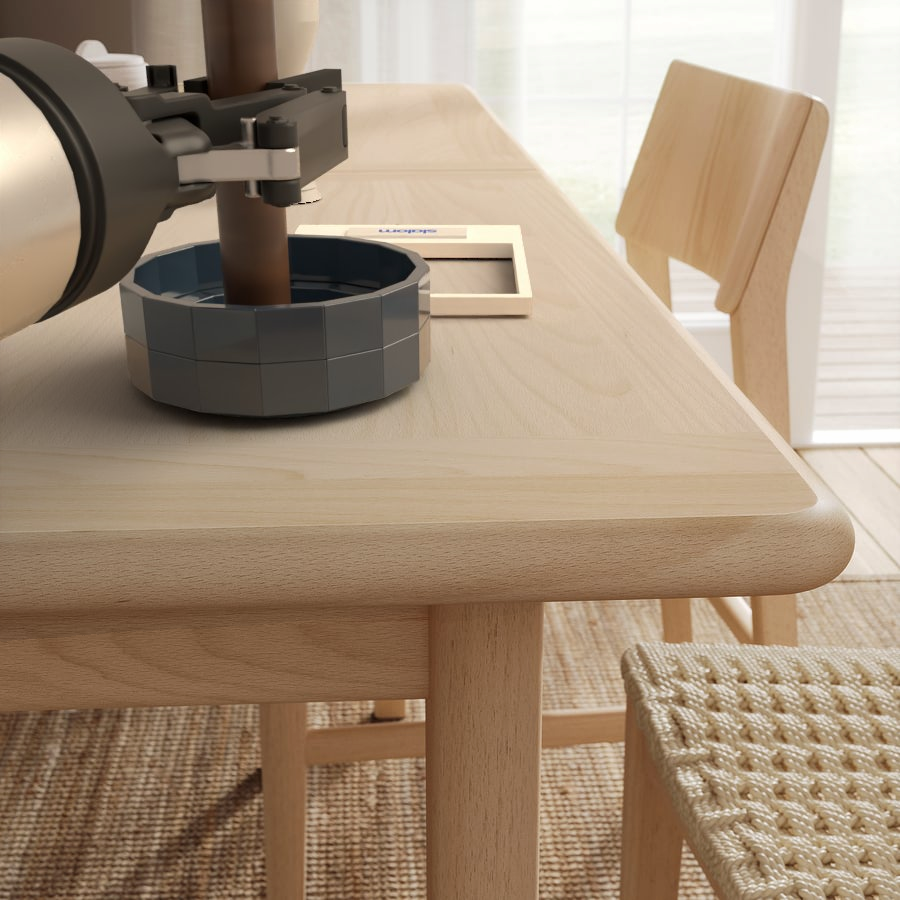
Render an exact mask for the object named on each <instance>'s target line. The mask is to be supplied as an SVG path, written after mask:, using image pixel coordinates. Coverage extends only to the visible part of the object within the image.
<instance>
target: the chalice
mask: <svg viewBox="0 0 900 900" xmlns="http://www.w3.org/2000/svg"><path fill="white" fill-rule="evenodd" d="M319 4H320V3H319V0H274V7H275V25H276V42H277V60H278V78H279V79H284V78H288V77H292V76H296V75H300V74H304V70H305V68H306V65H307V63H308V60H309V57H310V55H311V53H312V52H311V51H312V49H313V48H314V47H313V46H314V43H315V40H316V35H317V31H318V27H319V24H320V5H319ZM315 181H316V180H314V181H312V182H311V183H309V184H308V185H306V186H305V187H303V188H302V189H301V197H302V201H301V202H299V203H305V204H307V203H306V202H311V203H314V202H313V201H316V200H319V199H321V197H322V198H323V196H322V194H321V193H320V192H319V190H318V188H317V186H318V185H317V183H316V182H315ZM321 200H322V199H321ZM319 201H320V200H319ZM316 202H317V201H316ZM295 205H299V204H298V203H296V204H295Z"/></svg>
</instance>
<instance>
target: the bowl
mask: <svg viewBox="0 0 900 900" xmlns="http://www.w3.org/2000/svg"><path fill="white" fill-rule="evenodd" d="M287 237H288V255H289V273H290V291H291V304H281V305H265V306H247V305H226V304H224V291H223V279H222V266H221V253H220V241H219V238H216V239H210V240H209V239H208V240H203V241H202V240H201V241H195V242H188V243H184V244H180V245H176V246H173V247H170V248H166V249H163V250H158V251H155V252H151V253H147V254H145V255H142V256H141V258H140V259H139V260H138V262H137V263H136V265H135V266H134V267H133V268H132V270H131V271H130V272H129V273H128V274H127V275H126V276H125V277H124V278H123V279H122V280H121V281H119V282H118V290H119V297H120V306H121V307H120V308H121V314H122V324H123V332H124V340H125V341H124V343H125V350H126V357H127V359H126V360H127V367H128V377H129V381H130V383H131V385H133V386H134V387H135V388H137V389H138V390H139V391H141V392H142V393H144V394H145V395H146V396H147V397H149V398H150V399H151V400H153V401H155V402H159V403H163V404H167V405H171V406H175V407H179V408H182V409H186V410H190V411H194V412H198V413H204V414H205V413H206V414H210V415H216V416H223V417H231V418H242V419H245V418H246V419H285V418H287V419H288V418H300V417H308V416H309V417H310V416H317V415H323V414H328V413H334V412H338V411H343V410H347V409H350V408H354V407H358V406H360V405H364V404H366V403H369V402H373V401H377V400H382V399H384V398H386V397H388V396H391V395H392V394H395V393H397V392H399V391H400V390H403V389H405V388H407V387H408V386H410V385H413V384H414V383H416V382H419V381H420V380H421V378H422V376H423V374H424V373H425V371H426V370H427V368H428V367H429V365H430V364H431V360H432V354H431V353H432V352H431V351H432V349H431V342H432V341H431V314H430V294H431V268H430V265H429V263H428V262H427V261H426V260H425V258H422V257H421V256H420V255H419V253H417V252H414V251H411V250H408V249H405V248H402V247H399V246H396V245H393V244H390V243H387V242H381V241H375V240H368V239H361V238H354V237H347V236H332V235H305V234H294V233H287Z"/></svg>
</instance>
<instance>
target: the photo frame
mask: <svg viewBox="0 0 900 900" xmlns="http://www.w3.org/2000/svg"><path fill="white" fill-rule="evenodd" d="M293 234H305V235H332V236H347V237H354V238H361V239H368V240H375V241H381V242H387V243H390V244H393V245H396V246H399V247H402V248H405V249H408V250H411V251H414V252H417V253H419V255H420V256H421V257H422V258H423V259H425V258H432V259H433V258H434V259H436V258H438V259H439V258H442V259H443V258H444V259H445V258H446V259H447V258H450V259H451V258H452V259H453V258H455V259H458V258H459V259H462V258H464V259H465V258H467V259H471V258H473V259H474V258H475V259H477V258H478V259H490V258H491V259H496V258H497V259H511V260H512V266H513V267H512V268H513V274H514V281H515V287H516V288H515V289H516V293H430V315H510V316H511V315H514V316H515V315H520V316H521V315H522V316H523V315H524V316H525V315H533V299H534V298H533V292H532V287H531V282H530V275H529V271H528V270H529V269H528V264H527V258H526V252H525V248H524V242H523V236H522V231H521V225H520V224H299V226H298V227H297V228H296V230H295V232H294V233H293Z"/></svg>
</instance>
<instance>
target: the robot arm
mask: <svg viewBox="0 0 900 900" xmlns="http://www.w3.org/2000/svg"><path fill="white" fill-rule="evenodd" d="M145 73H146V74H145V75H146V84H147V86H146V85H145V86H142V87H139V88H135V89H131V90H129V86H128V85H121V84H120V83H119V82H114V81H112V80H111V78H109V77H108V76H107V75H106V74H105V73H104V72H102V71H101V69H100V68H98V67H96V66H95V65H94V64H93V63H92V62H90V61H88V60H87V59H85V58H84V57H83V56H81V55H79V54H77V53H76V52H74V51H72V50H71V49H68V48H65V47H63V46H61V45H59V44H56V43H53V42H49V41H46V40H43V39H37V38H30V37H21V36H20V37H2V38H1V37H0V341H3V340H4V339H6V338H8V337H10V336H12V335H14V334H16V333H18V332H21V331H22V330H25V329H26V328H28V327H30V326H32V325H35V324H39V323H42V322H45V321H47V320H49V319H51V318H55V317H56V316H57V315H60V314H63V313H64V312H66V311H68V310H71V309H72V308H74V307H76V306H78V305H80V304H82V303H85V302H86V301H88V300H90V299H92V298H95V297H97V296H98V295H101V294H102V293H105V292H107V291H108V290H109V289H111V288H113V287H114V286H116V285H117V284H119V281H121V280H122V279H123V278H124V277H125V276H126V275H127V274H128V273H129V272H130V271H131V270H132V268H133V267H134V266H135V265H136V263H137V262H138V260H139V259H140V258H141V257H143V254H144V252H145V251H146V249H147V246H148V245H149V243H150V241H151V239H152V236H153V234H154V233H155V230H156V228H157V225H158V224H159V223H163V222H166V221H168V220H169V219H171V218H172V215H174V212H175V211H176V210H179V209H181V208H185V207H188V206H192V205H197V204H199V203H202V202H204V201H207V200H210V199H212V198H214V197H215V196H216V191H217V188H218V184H219V182H220V181H244V186H245V196H246V197H249V198H259V197H262V202H263V203H265V204H270V205H271V206H275V207H279V208H284V207H286V208H289V207H291V206H292V205H291V204H293V205H297V204H296V203H299V202H301V201H302V197H301V189H302V188H303V187H305V186H306V185H308V184H309V183H311V182H312V181H316V180H317V179H319V178H321V177H322V176H323V175H325V174H326V173H328V172H329V171H331V170H332V169H334V168H335V167H337V166H339V165H340V164H341V163H343V162H345V161H346V160H348V159H349V131H348V105H347V104H348V103H347V91H346V90H343V80H342V79H343V78H342V68H322V69H317V70H313V71H309V72H305V73H302V74H300V75H296V76H292V77H288V78H284V79H279V80H275V81H271V82H267V83H266V91H261V92H256V93H250V94H245V95H239V96H234V97H229V98H223V99H218V100H212V101H210V99H209V97H208V89H207V76H206V75H204V76H199V77H194V78H189V79H185V80H183V81H182V87H183V91H182V92H181V91H179V81H178V70H177V65H176V64H148V65H145Z"/></svg>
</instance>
